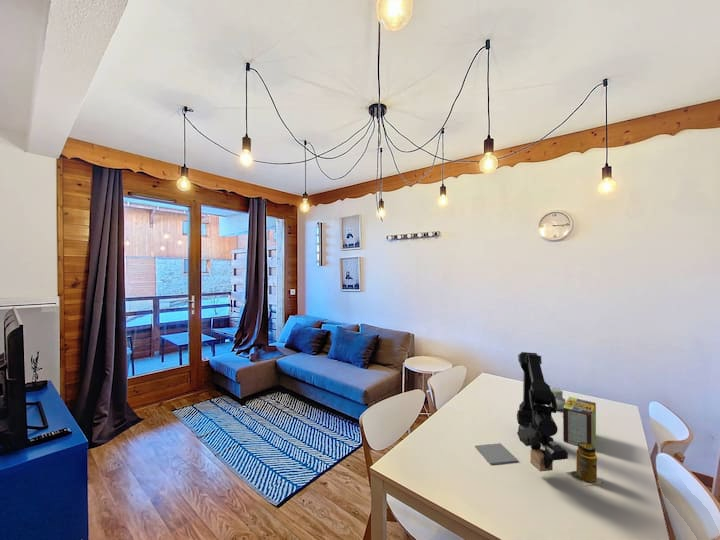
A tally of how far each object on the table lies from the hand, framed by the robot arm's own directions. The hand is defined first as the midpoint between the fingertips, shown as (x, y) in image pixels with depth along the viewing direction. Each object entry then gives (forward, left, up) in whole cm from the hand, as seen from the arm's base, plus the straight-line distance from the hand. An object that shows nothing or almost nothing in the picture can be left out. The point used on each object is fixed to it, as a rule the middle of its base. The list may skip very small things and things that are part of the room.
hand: (541, 463), depth 114 cm
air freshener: (-48, -49, -5) cm, 69 cm away
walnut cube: (0, 0, -1) cm, 1 cm away
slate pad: (+9, -15, -5) cm, 18 cm away
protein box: (-35, -20, -5) cm, 41 cm away
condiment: (-15, +3, -5) cm, 16 cm away
